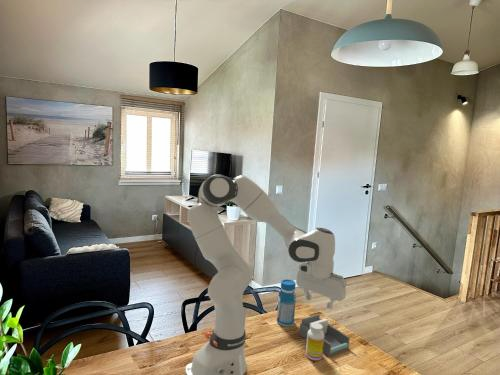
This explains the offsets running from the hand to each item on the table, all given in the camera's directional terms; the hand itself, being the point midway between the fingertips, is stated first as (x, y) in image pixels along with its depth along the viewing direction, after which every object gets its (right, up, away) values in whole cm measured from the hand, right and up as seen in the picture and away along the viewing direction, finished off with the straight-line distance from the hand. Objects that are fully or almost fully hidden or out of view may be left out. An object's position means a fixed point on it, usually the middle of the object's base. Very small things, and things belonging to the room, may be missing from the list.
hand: (318, 303), depth 133 cm
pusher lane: (+5, -21, +14) cm, 25 cm away
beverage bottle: (-10, -19, +28) cm, 35 cm away
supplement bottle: (-1, -22, +3) cm, 22 cm away
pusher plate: (+3, -19, +16) cm, 25 cm away
